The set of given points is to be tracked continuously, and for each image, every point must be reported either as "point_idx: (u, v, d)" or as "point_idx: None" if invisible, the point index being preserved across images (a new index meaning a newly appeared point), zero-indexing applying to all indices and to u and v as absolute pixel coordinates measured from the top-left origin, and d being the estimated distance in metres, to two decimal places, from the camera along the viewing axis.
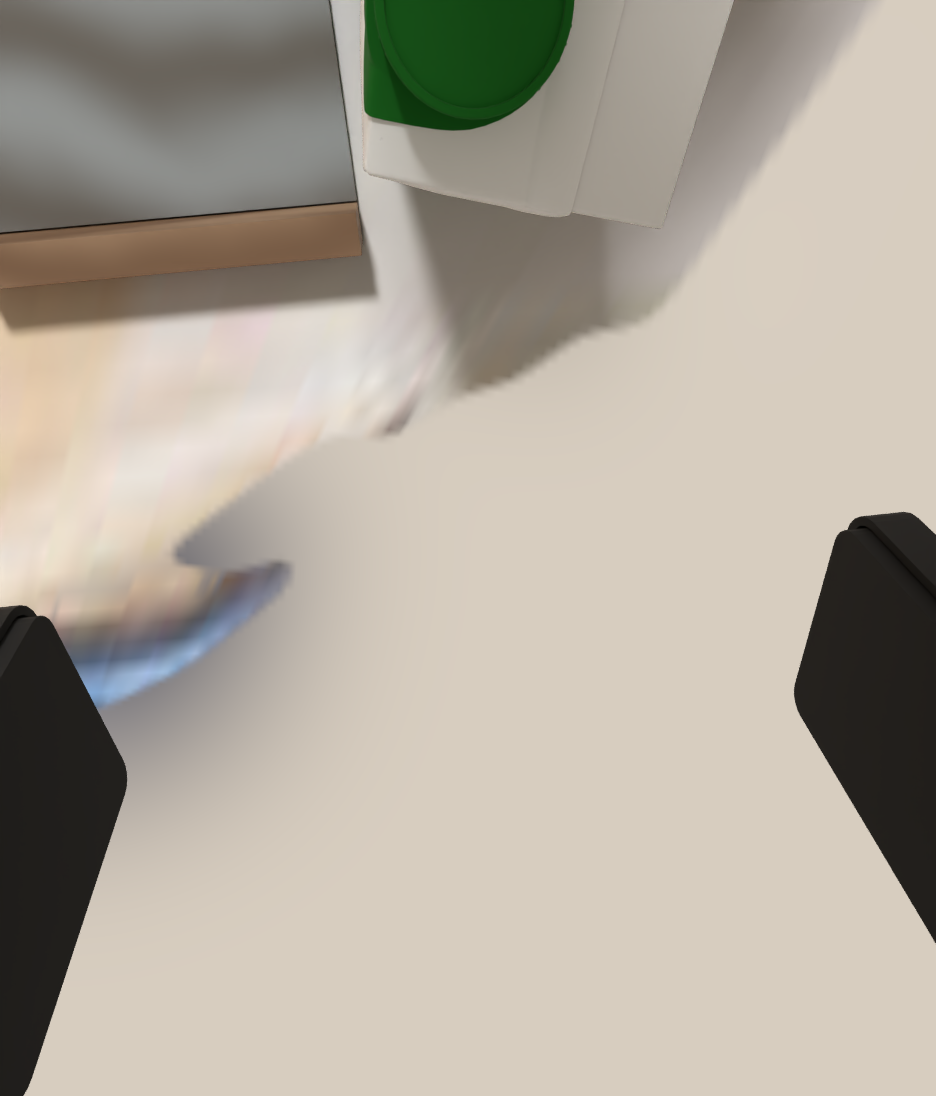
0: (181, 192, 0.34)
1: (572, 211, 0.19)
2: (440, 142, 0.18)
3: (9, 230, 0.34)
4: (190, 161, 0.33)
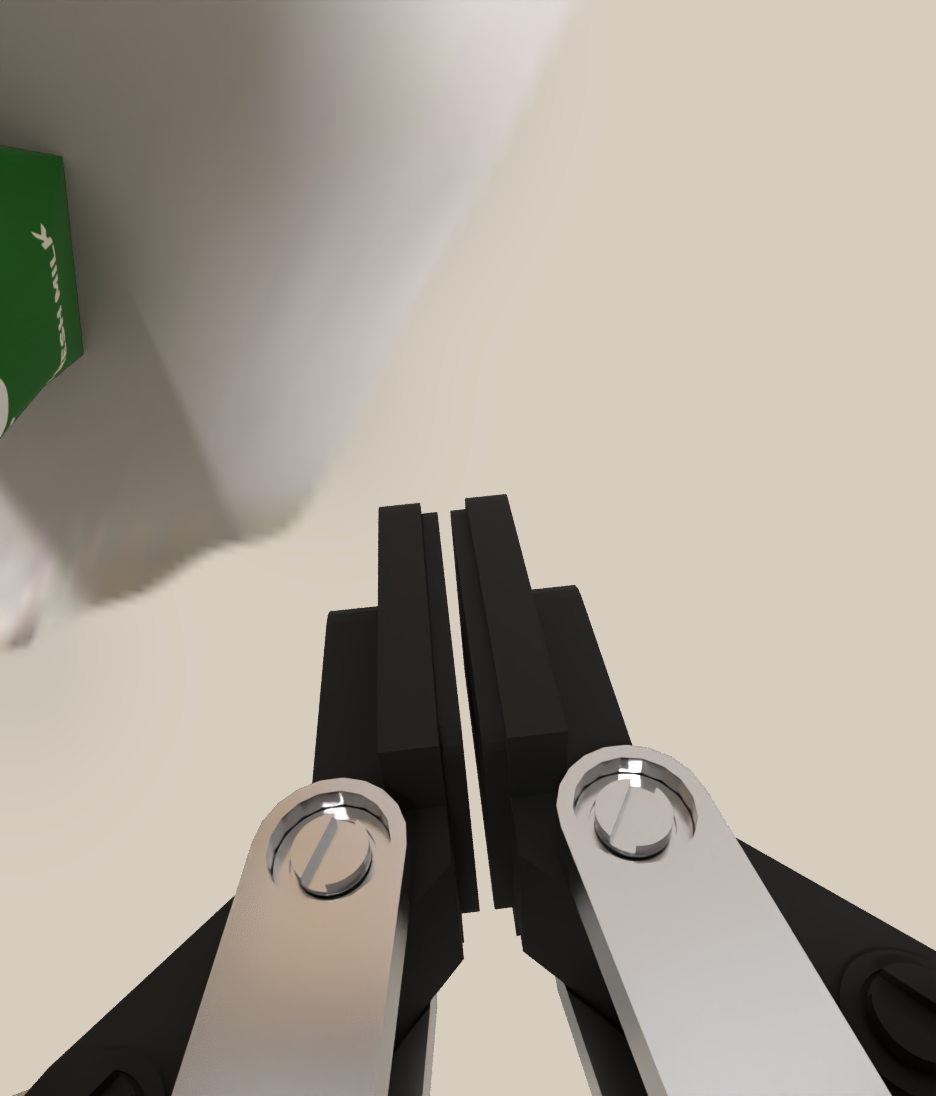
0: None
1: None
2: None
3: None
4: None
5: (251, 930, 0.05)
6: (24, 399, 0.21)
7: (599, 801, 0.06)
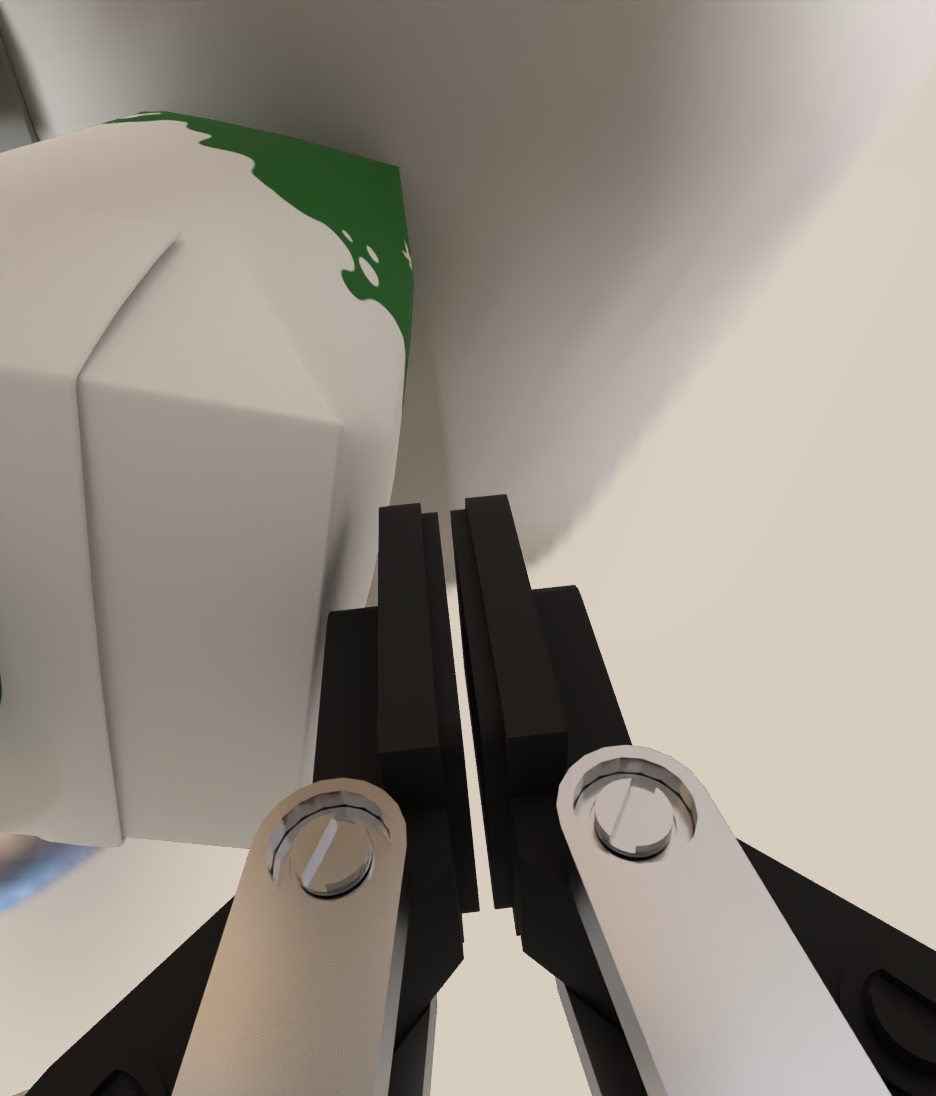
0: None
1: (129, 836, 0.11)
2: None
3: None
4: None
5: (252, 930, 0.05)
6: None
7: (599, 801, 0.06)
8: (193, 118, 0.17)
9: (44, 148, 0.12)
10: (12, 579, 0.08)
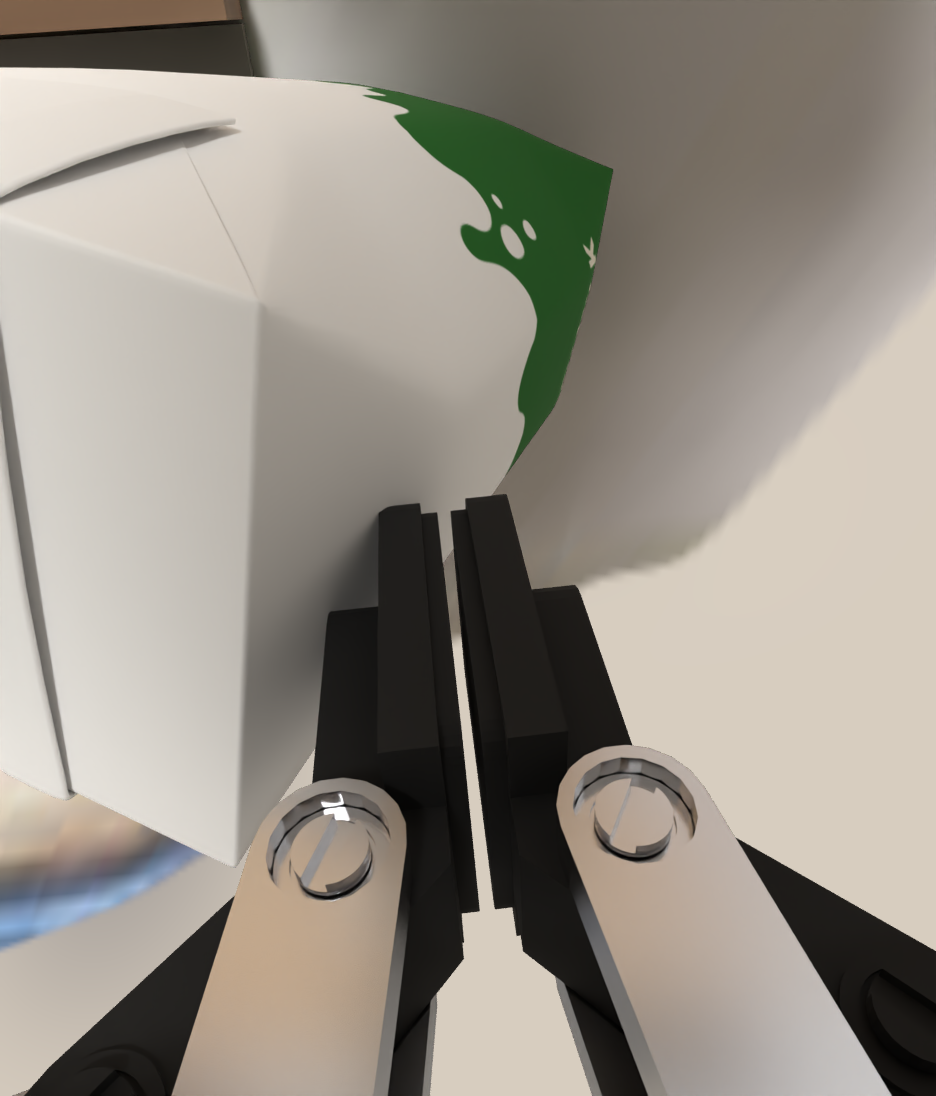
0: None
1: (78, 793, 0.10)
2: None
3: None
4: None
5: (252, 930, 0.05)
6: (523, 449, 0.16)
7: (599, 801, 0.06)
8: None
9: (187, 73, 0.12)
10: None
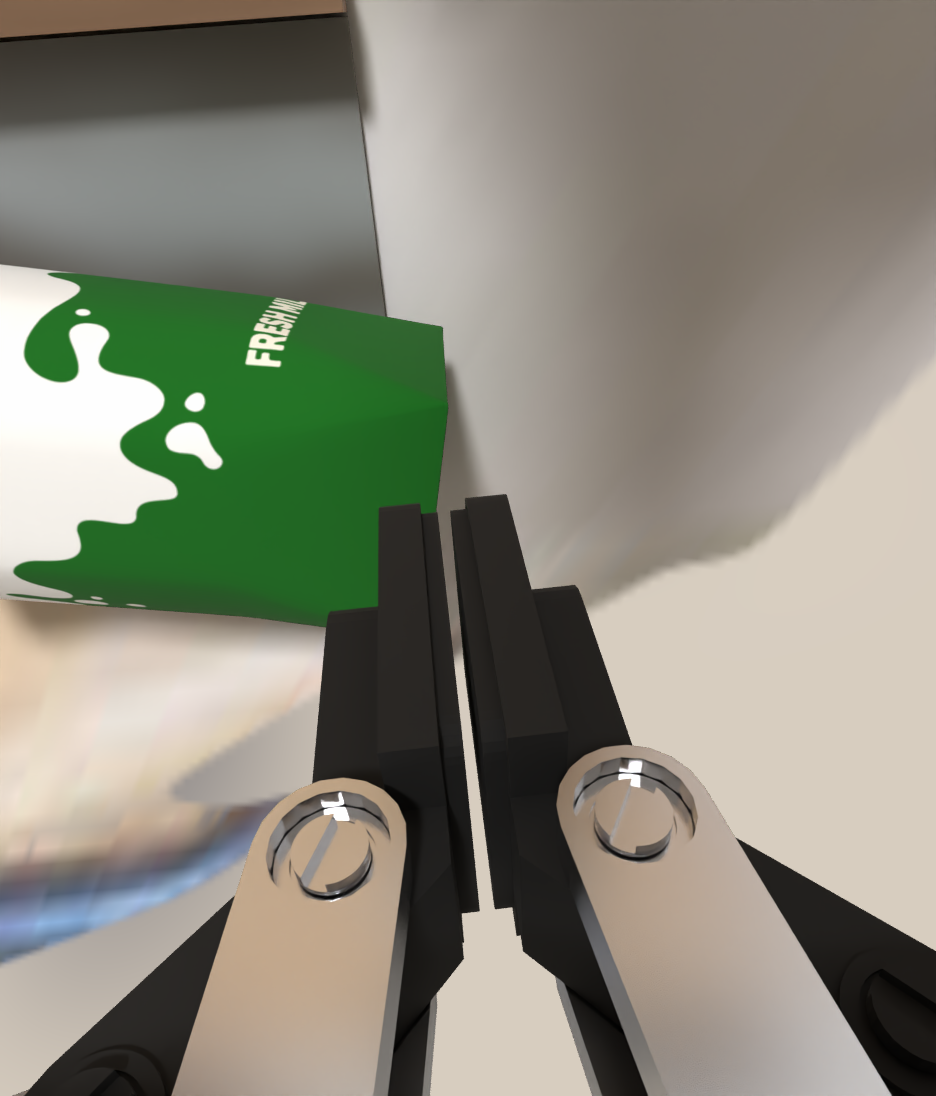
0: None
1: None
2: None
3: None
4: None
5: (251, 930, 0.05)
6: None
7: (599, 801, 0.06)
8: (217, 496, 0.18)
9: None
10: None
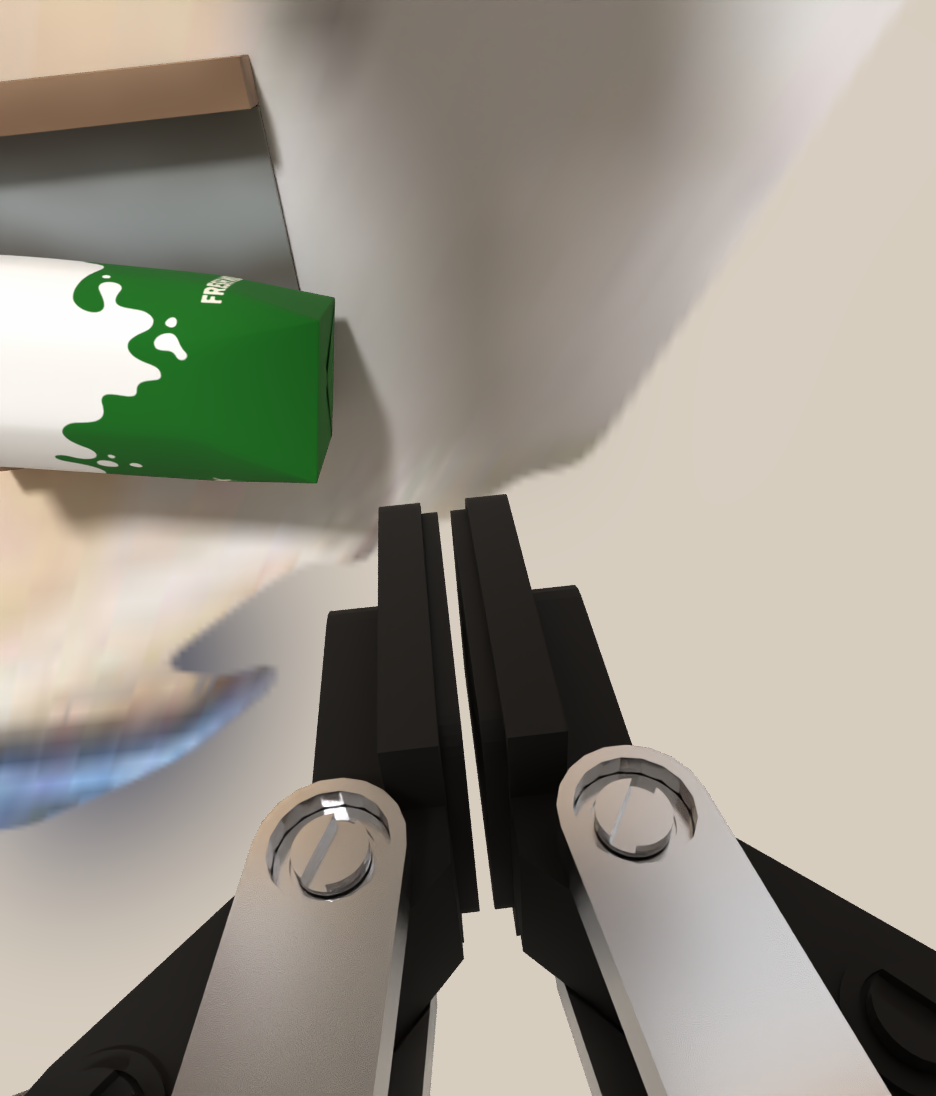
0: None
1: None
2: None
3: None
4: None
5: (252, 930, 0.05)
6: None
7: (599, 801, 0.06)
8: (184, 377, 0.30)
9: (27, 346, 0.29)
10: None
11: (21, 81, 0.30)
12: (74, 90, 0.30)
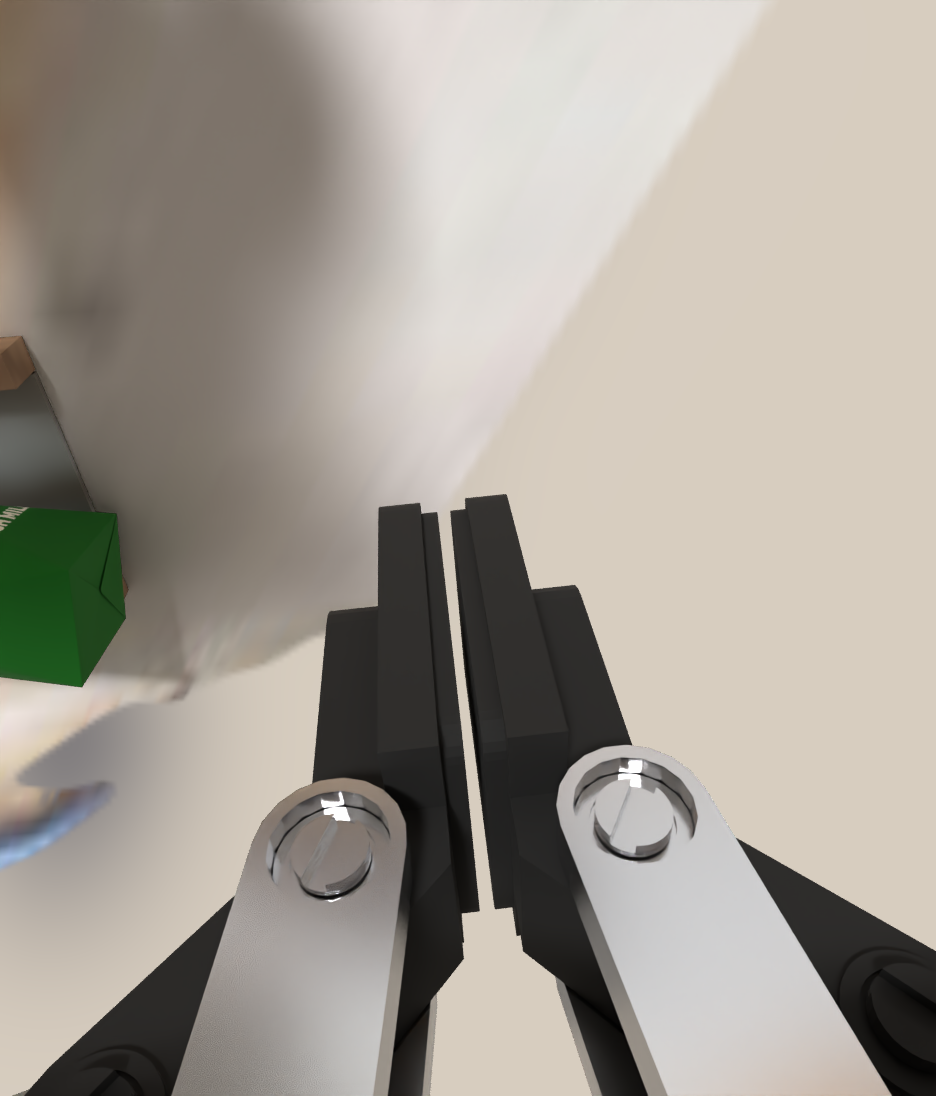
0: None
1: None
2: None
3: None
4: None
5: (251, 930, 0.05)
6: None
7: (599, 801, 0.06)
8: None
9: None
10: None
11: None
12: None
